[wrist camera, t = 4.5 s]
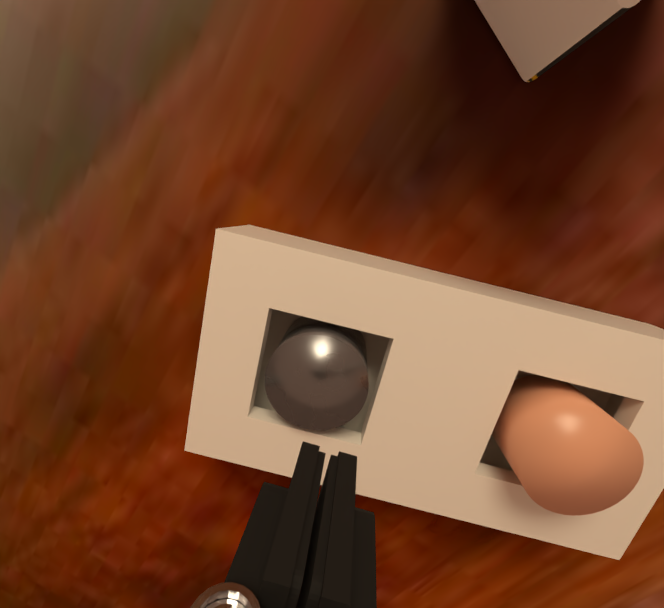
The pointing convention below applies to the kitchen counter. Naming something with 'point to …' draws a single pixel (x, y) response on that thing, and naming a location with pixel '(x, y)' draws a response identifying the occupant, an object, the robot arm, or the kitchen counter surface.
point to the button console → (420, 380)
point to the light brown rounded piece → (566, 447)
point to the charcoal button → (318, 374)
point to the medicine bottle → (547, 28)
